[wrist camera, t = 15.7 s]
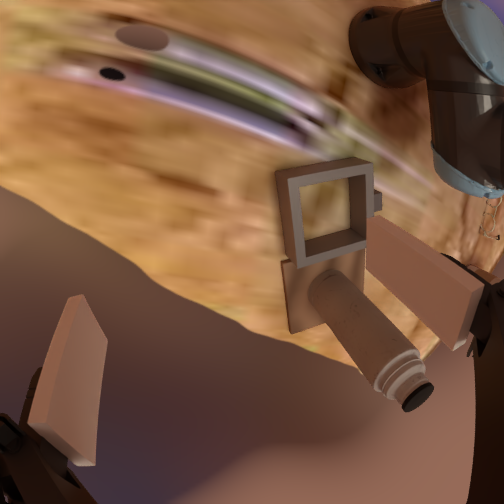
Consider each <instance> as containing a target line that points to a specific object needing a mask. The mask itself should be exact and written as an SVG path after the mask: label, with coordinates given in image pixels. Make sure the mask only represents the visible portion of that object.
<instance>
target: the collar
mask: <svg viewBox="0 0 504 504" xmlns="http://www.w3.org/2000/svg"><path fill="white" fill-rule="evenodd" d="M275 175H276V182H277V190H278V197H279V204H280V212H281V219H282V227H283V235H284V243H285V251H286V255H287V256H288V258H289V259H290V260H291V261H292V263H293V264H294V265H295V266H296V268H297V269H299V268H302V267H305V266H309V265H312V264H315V263H319V262H322V261H325V260H328V259H332V258H335V257H338V256H341V255H345V254H348V253H351V252H354V251H358V250H361V249H364V248H366V232H367V218H370V217H374V212H376V211H380V210H382V193H381V192H379V191H377V190H375V189H374V177H373V163H372V162H369V161H365V160H362V159H359V158H356V157H353V158H347V159H341V160H335V161H329V162H323V163H318V164H312V165H307V166H301V167H296V168H291V169H286V170H281V171H276V172H275ZM347 177H349V192H350V219H351V229H347V230H343V231H340V232H336V233H332V234H329V235H325V236H322V237H318V238H314V239H311V240H307V241H304V231H303V221H302V211H301V201H300V192H299V187H302V186H307V185H312V184H317V183H322V182H326V181H331V180H336V179H342V178H347Z"/></svg>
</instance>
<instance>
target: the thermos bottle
mask: <svg viewBox="0 0 504 504" xmlns="http://www.w3.org/2000/svg"><path fill="white" fill-rule="evenodd" d="M308 297H309V300H310V302H311V304H312V305H313V306H314V308H315V309H316V310H317V312H318V313H319V314H320V316H321V317H322V318H323V320H324V321H325V322H326V324H327V325H328V326H329V327H330V329H331V330H332V331H333V333H334V334H335V336H336V337H337V339H338V340H339V341H340V343H341V344H342V346H343V347H344V348H345V350H346V351H347V352H348V354H349V355H350V357H351V358H352V359H353V361H354V362H355V363H356V365H357V366H358V368H359V369H360V370H361V372H362V373H363V375H364V376H365V377H366V379H367V380H368V381H369V383H370V384H371V386H372V387H373V388H374V390H376V391H378V392H383V396H385V397H387V398H388V399H390V400H393V399H396V400H397V401H398V402H399V403H400V404H401V405H402V409H403V410H404V412H410V411H412V410H414V409H416V408H417V407H419V406H420V405H421V404H422V403H423V402H425V400H427V399H428V398H429V396H430V395H431V394H432V392H433V390H434V386H433V385H432V384H431V383H430V382H429V380H428V378H427V377H426V376H425V375H424V373H425V369H426V368H425V365H424V364H423V361H422V360H421V359H420V352H419V351H418V349H417V348H416V347H415V346H414V345H413V344H412V343H411V342H410V341H409V340H408V339H407V338H406V337H405V336H404V335H403V334H402V332H401V331H400V330H399V329H398V328H397V327H396V326H395V325H394V324H393V323H392V322H391V321H390V320H389V319H388V318H387V317H386V316H385V315H384V314H383V313H382V312H381V311H380V310H379V309H378V308H377V307H376V306H375V305H374V304H373V303H372V302H371V301H370V300H369V299H368V298H367V297H366V296H365V295H364V294H363V293H362V292H361V291H360V290H359V289H358V288H357V287H356V286H355V285H354V284H353V283H352V282H351V281H350V280H349V279H348V278H347V277H346V276H345V275H344V274H343V273H342V272H340V271H338V270H328V271H325V272H323V273H321V274H320V275H318V276H317V277H316V278H315V279H314V281H313V282H312V283H311V285H310V288H309V291H308Z"/></svg>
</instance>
